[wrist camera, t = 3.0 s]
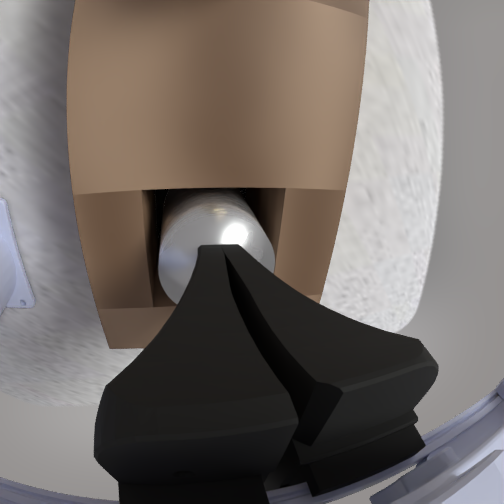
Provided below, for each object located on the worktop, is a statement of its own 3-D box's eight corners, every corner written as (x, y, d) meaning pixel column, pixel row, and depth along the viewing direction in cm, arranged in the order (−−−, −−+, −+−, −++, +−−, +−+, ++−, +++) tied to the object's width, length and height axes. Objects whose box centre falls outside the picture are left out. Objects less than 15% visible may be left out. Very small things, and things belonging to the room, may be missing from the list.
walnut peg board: (122, 276, 17) (109, 348, 12) (134, -77, 7) (121, -133, 2) (277, 268, 20) (311, 332, 15) (312, -63, 9) (366, -103, 4)
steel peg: (165, 246, 15) (164, 318, 11) (162, 171, 13) (153, 218, 9) (240, 242, 16) (268, 310, 12) (245, 170, 14) (282, 214, 10)
